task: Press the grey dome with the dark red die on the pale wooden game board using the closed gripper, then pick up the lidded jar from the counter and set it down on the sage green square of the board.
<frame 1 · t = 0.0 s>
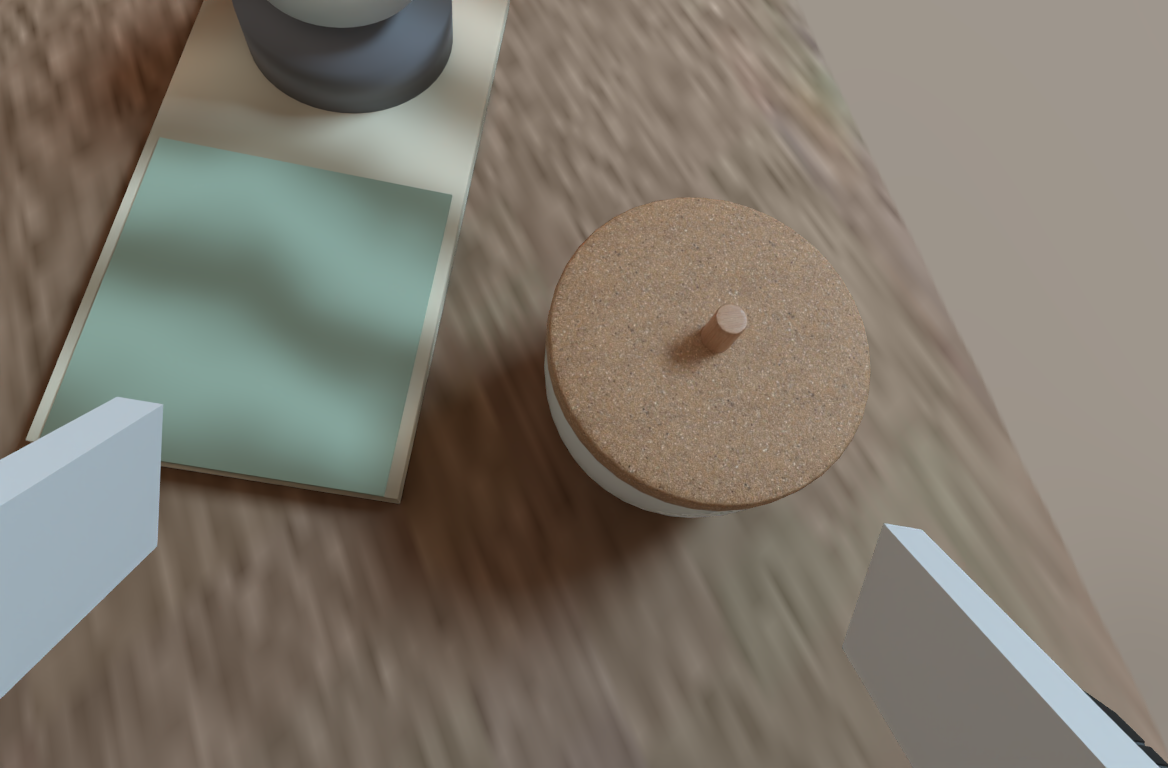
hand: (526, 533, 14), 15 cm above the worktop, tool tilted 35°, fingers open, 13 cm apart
lidded jar: (656, 411, 31), on the worktop
game board: (310, 192, 32), on the worktop
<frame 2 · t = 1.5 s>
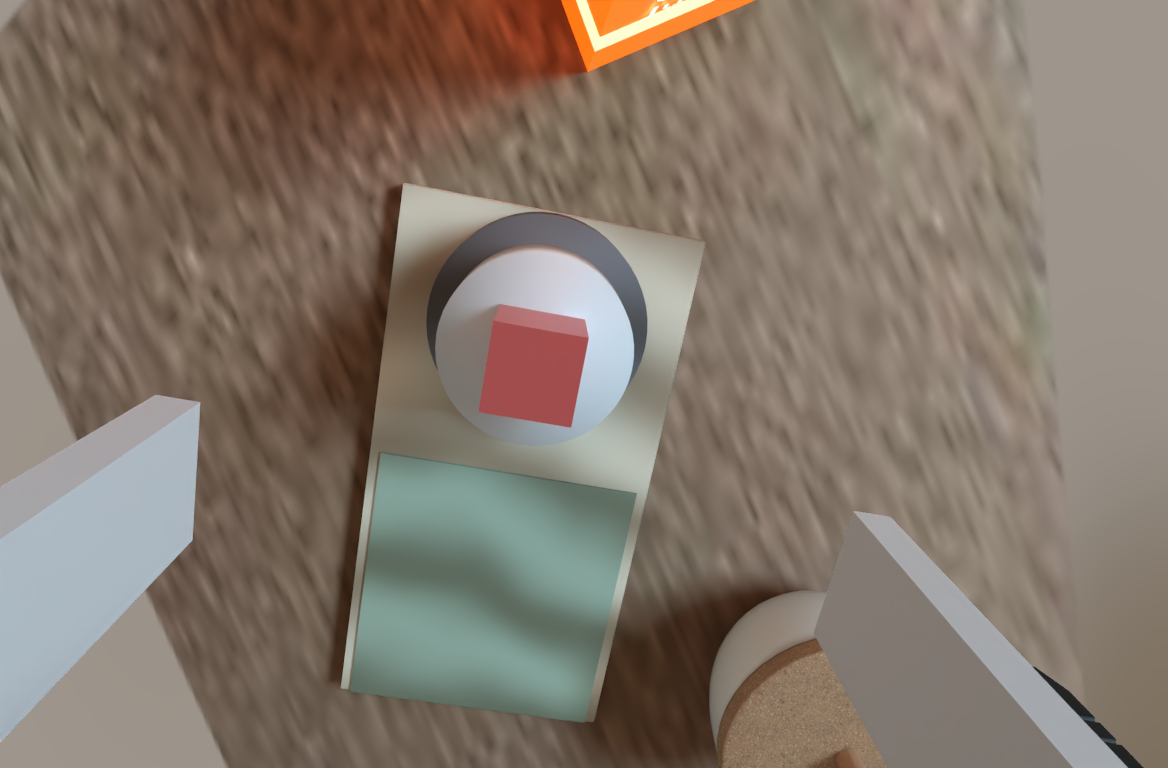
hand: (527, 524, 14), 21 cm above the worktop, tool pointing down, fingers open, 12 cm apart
lidded jar: (789, 642, 40), on the worktop
game board: (510, 474, 36), on the worktop
dome: (535, 352, 27), point 8 cm above the worktop, slide at 0.0 cm
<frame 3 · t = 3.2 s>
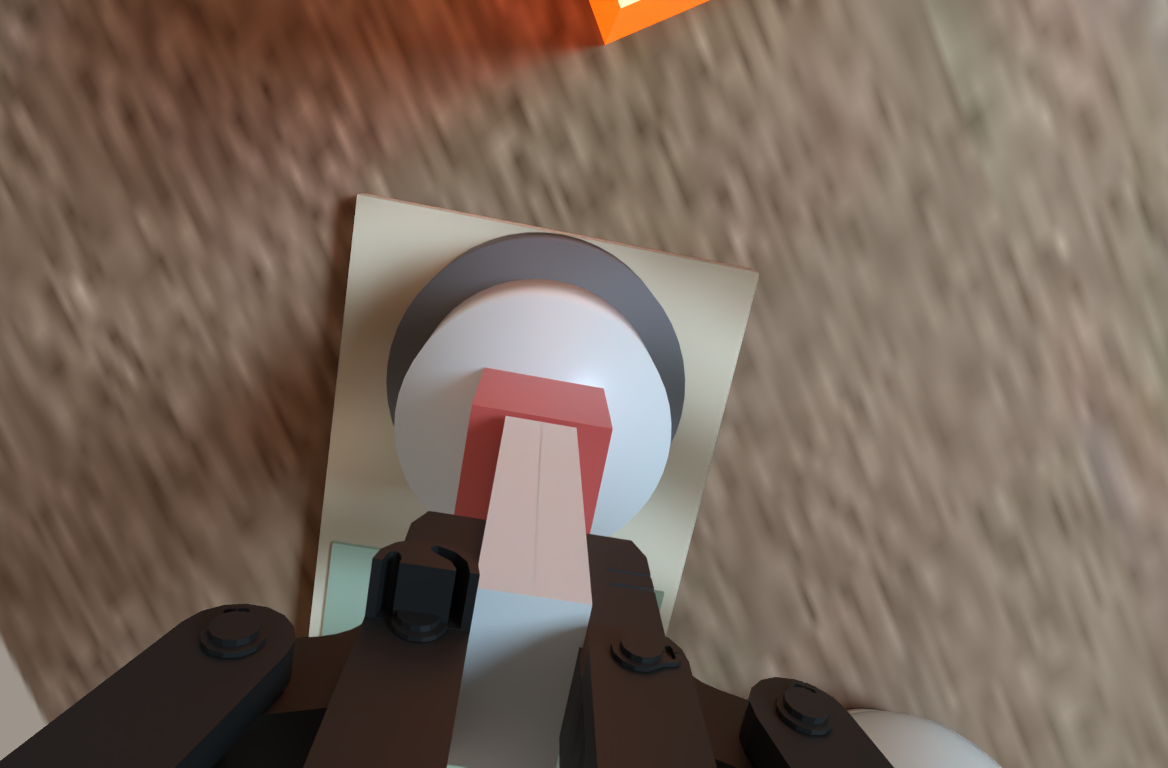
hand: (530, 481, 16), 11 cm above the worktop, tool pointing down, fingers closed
lidded jar: (850, 765, 32), on the worktop
game board: (501, 564, 28), on the worktop
dome: (533, 434, 19), point 7 cm above the worktop, slide at 0.5 cm, touching gripper
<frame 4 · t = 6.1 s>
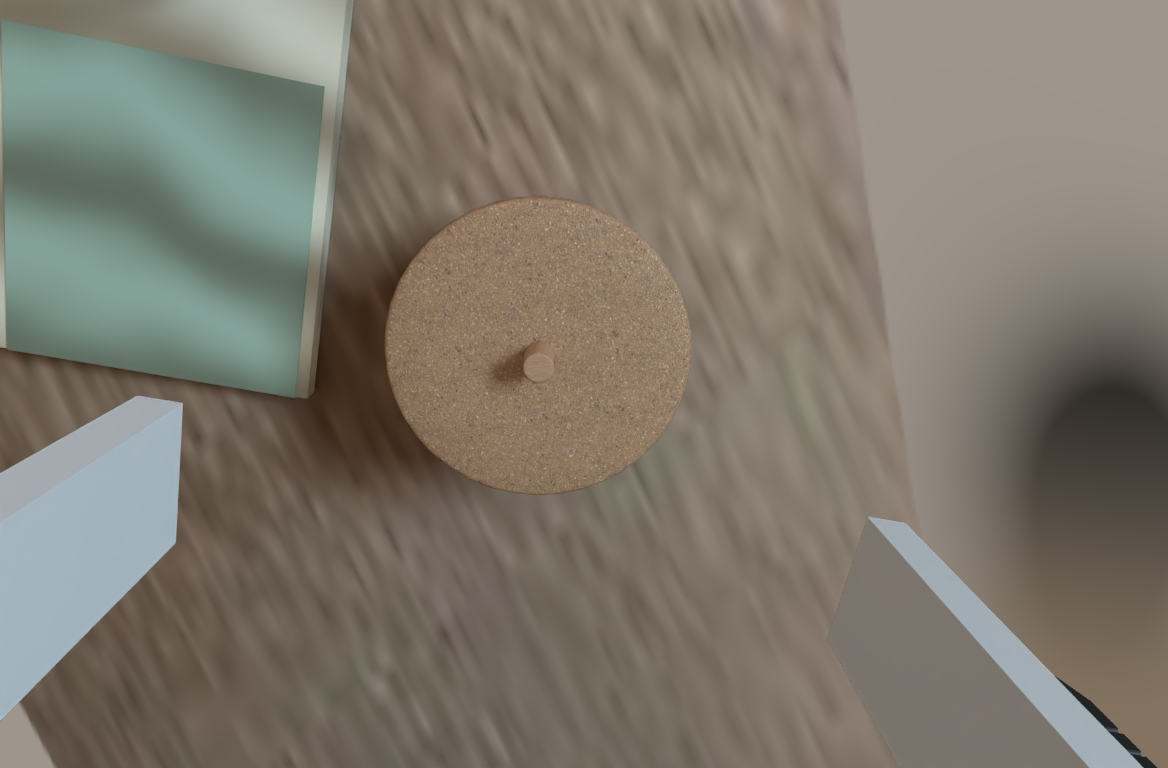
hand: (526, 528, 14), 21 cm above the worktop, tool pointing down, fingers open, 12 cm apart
lidded jar: (542, 311, 34), on the worktop
game board: (179, 70, 30), on the worktop
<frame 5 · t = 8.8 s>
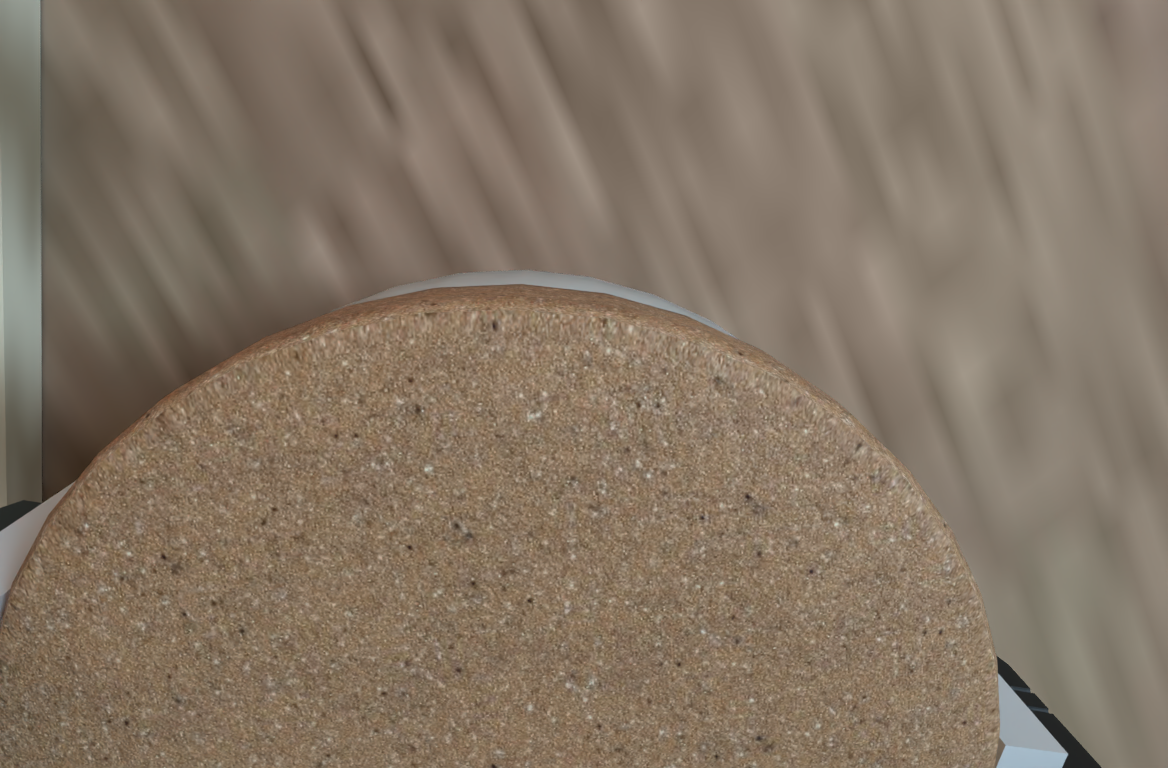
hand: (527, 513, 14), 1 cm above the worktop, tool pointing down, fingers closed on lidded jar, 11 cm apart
lidded jar: (529, 488, 16), on the worktop, touching gripper
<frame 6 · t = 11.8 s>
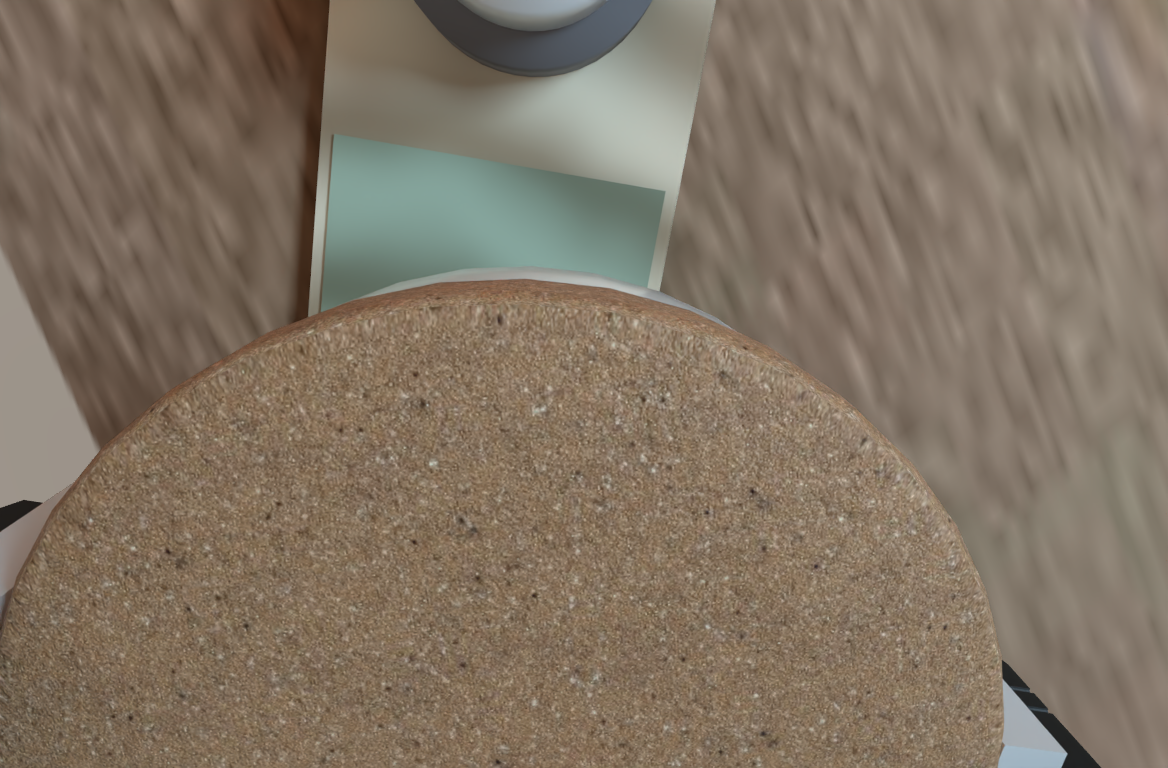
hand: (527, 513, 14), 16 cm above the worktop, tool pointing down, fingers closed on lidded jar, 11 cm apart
lidded jar: (531, 486, 16), point 15 cm above the worktop, touching gripper
game board: (503, 176, 28), on the worktop
when the fingers open (3 cm above the worktop, at t = 15.0 s): lidded jar drops 1 cm, resting on game board.
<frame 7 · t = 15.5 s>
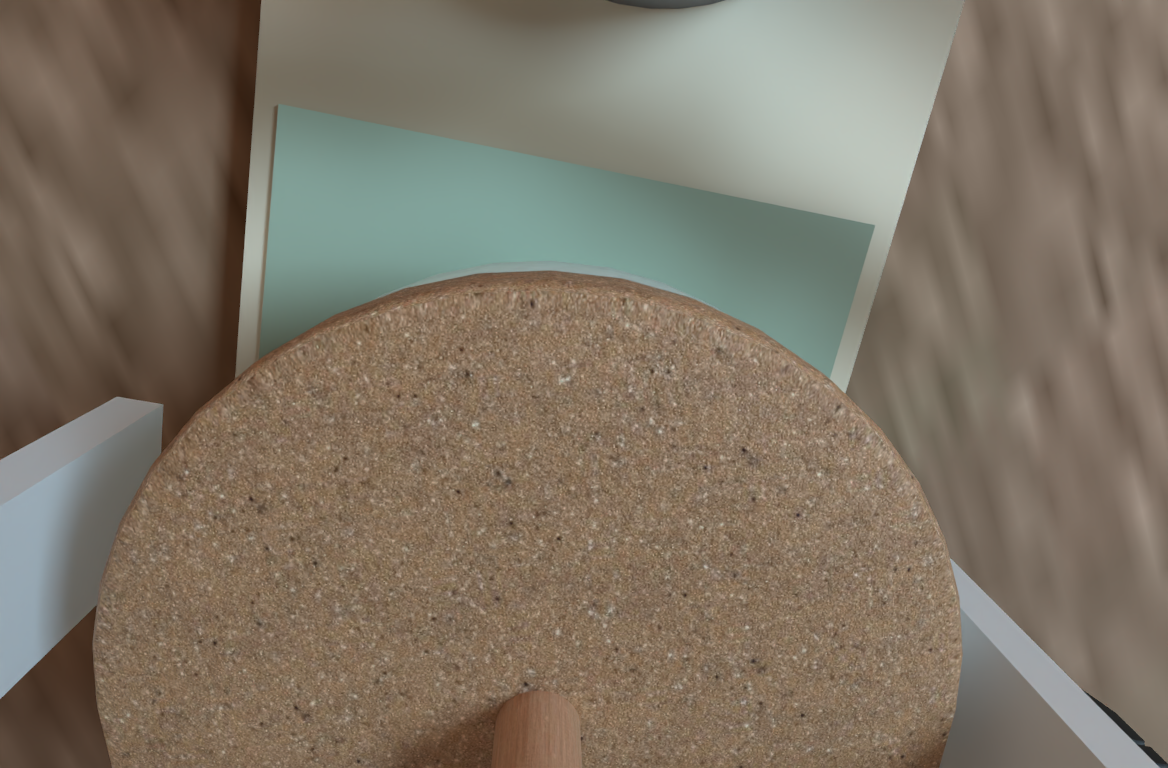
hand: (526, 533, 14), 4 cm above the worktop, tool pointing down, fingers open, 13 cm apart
lidded jar: (544, 465, 17), point 1 cm above the worktop, touching game board
game board: (581, 190, 16), on the worktop
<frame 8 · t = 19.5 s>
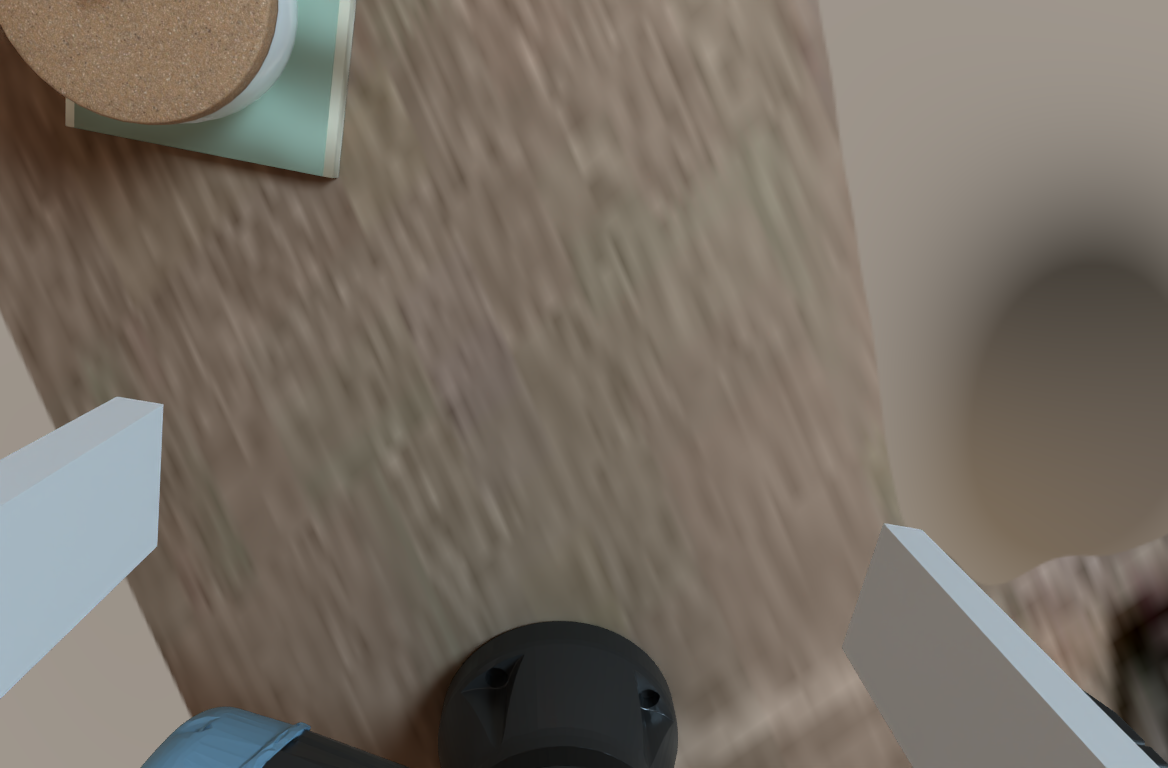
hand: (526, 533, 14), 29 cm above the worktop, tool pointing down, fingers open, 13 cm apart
lidded jar: (215, 13, 36), point 1 cm above the worktop, touching game board
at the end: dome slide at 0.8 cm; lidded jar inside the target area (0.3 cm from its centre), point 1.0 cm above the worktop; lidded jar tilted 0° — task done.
